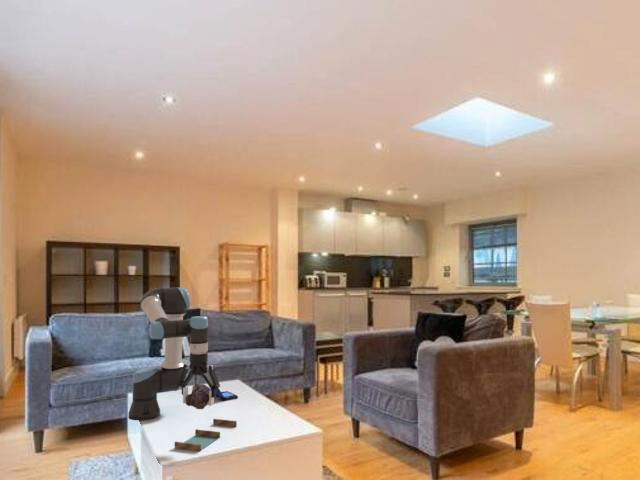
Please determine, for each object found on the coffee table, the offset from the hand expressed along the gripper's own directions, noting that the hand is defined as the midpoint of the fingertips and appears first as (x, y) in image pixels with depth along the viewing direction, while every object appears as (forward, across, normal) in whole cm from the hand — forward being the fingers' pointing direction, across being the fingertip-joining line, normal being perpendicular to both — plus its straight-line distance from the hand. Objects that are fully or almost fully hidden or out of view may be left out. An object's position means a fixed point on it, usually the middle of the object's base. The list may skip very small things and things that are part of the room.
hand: (198, 403), depth 193 cm
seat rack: (+16, 0, +7) cm, 18 cm away
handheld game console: (+17, -26, +65) cm, 72 cm away
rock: (+1, +1, 0) cm, 1 cm away
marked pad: (+16, 0, 0) cm, 16 cm away
